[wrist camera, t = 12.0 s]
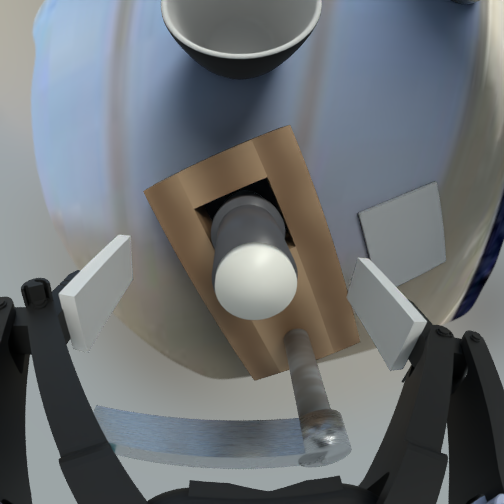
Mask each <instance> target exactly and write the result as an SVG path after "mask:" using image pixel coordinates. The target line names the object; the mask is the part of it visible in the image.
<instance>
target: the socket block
mask: <svg viewBox="0 0 504 504" xmlns="http://www.w3.org/2000/svg"><path fill="white" fill-rule="evenodd" d="M264 178H266V179H267V181H268V183H269V186H270V188H271V190H272V193H273V195H274V198H275V200H276V203H277V205H278V207H279V210H280V212H281V215H282V217H283V220H284V222H285V225H286V227H287V230H288V231H286V232H285V241H286V243H287V246H288V248H289V250H290V252H291V254H292V256H293V258H294V260H295V263H296V266H297V271H298V278H297V289H296V293H295V295H294V297H293V299H292V301H291V302H290V304H289V305H288V306H287V307H286V308H285V309H284V310H283V311H281V312H280V313H278V314H276V315H274V316H272V317H270V318H266V319H261V320H247V319H242V318H239V317H236V316H234V315H232V314H231V313H229V312H228V311H227V310H225V309H224V308H223V307H222V305H221V304H220V302H219V301H218V299H217V296H216V293H215V291H214V289H213V285H212V269H213V261H214V254H215V248H214V246H213V244H212V240H211V227H212V223H213V222H212V220H211V218H210V216H209V214H208V212H207V210H206V208H205V206H204V204H206V203H208V202H210V201H213V200H215V199H217V198H219V197H222V196H224V195H226V194H229V193H231V192H233V191H235V190H238V189H240V188H242V187H245V186H247V185H249V184H252V183H254V182H257V181H259V180H261V179H264ZM143 192H144V194H145V196H146V198H147V200H148V202H149V204H150V206H151V208H152V210H153V211H154V213H155V215H156V217H157V219H158V221H159V223H160V225H161V227H162V229H163V230H164V232H165V234H166V236H167V238H168V240H169V242H170V243H171V245H172V247H173V249H174V251H175V253H176V254H177V256H178V258H179V260H180V261H181V263H182V265H183V267H184V269H185V270H186V272H187V274H188V276H189V277H190V279H191V281H192V282H193V284H194V286H195V288H196V289H197V291H198V293H199V294H200V296H201V298H202V299H203V301H204V303H205V304H206V306H207V308H208V309H209V311H210V313H211V314H212V316H213V318H214V319H215V321H216V322H217V324H218V326H219V327H220V329H221V330H222V332H223V334H224V335H225V337H226V338H227V340H228V341H229V343H230V344H231V346H232V348H233V349H234V351H235V352H236V354H237V355H238V357H239V358H240V360H241V361H242V363H243V364H244V366H245V367H246V369H247V370H248V372H249V373H250V375H251V376H252V378H253V379H254V380H258V379H261V378H265V377H268V376H271V375H274V374H278V373H281V372H284V371H287V370H290V374H291V379H292V384H293V389H294V394H295V399H296V405H297V409H298V415H299V418H300V417H301V416H303V415H305V414H307V413H310V412H313V411H317V410H323V409H330V405H329V402H328V399H327V395H326V392H325V388H324V385H323V382H322V378H321V375H320V372H319V369H318V365H317V362H316V360H317V359H320V358H323V357H325V356H328V355H330V354H333V353H335V352H338V351H340V350H343V349H345V348H348V347H350V346H352V345H355V344H357V343H359V342H360V339H359V334H358V330H357V326H356V322H355V318H354V314H353V310H352V306H351V304H350V303H349V301H348V299H347V298H346V297H347V294H348V291H347V288H346V284H345V281H344V277H343V274H342V270H341V267H340V263H339V260H338V257H337V254H336V250H335V247H334V244H333V241H332V238H331V234H330V231H329V228H328V225H327V222H326V219H325V216H324V213H323V210H322V207H321V205H320V202H319V199H318V196H317V193H316V190H315V188H314V185H313V182H312V180H311V177H310V174H309V172H308V169H307V166H306V164H305V161H304V158H303V156H302V153H301V151H300V148H299V146H298V143H297V141H296V138H295V136H294V134H293V131H292V129H291V126H290V125H288V126H284V127H281V128H278V129H276V130H273V131H270V132H268V133H265V134H263V135H260V136H258V137H255V138H253V139H250V140H248V141H245V142H243V143H241V144H238V145H236V146H234V147H231V148H229V149H227V150H224V151H222V152H220V153H218V154H215V155H213V156H211V157H209V158H207V159H205V160H202V161H200V162H198V163H196V164H194V165H192V166H190V167H188V168H186V169H184V170H182V171H180V172H178V173H176V174H174V175H172V176H170V177H168V178H166V179H164V180H162V181H160V182H158V183H156V184H155V185H153V186H151V187H150V188H148V189H146V190H145V191H143Z"/></svg>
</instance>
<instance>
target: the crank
mask: <svg viewBox="0 0 504 504" xmlns="http://www.w3.org/2000/svg"><path fill="white" fill-rule="evenodd" d="M93 413H94V415H95V417H96V419H97V421H98V423H99V425H100V427H101V429H102V431H103V433H104V435H105V437H106V438H107V440H108V442H109V444H110V446H111V447H112V449H113V451H114V453H115V454H116V455H120V456H124V457H129V458H134V459H139V460H144V461H150V462H156V463H163V464H170V465H179V466H189V467H201V468H223V469H254V468H255V469H256V468H275V467H288V466H299V465H301V466H304V467H320V466H325V465H329V464H332V463H335V462H337V461H339V460H341V459H343V458H345V457H346V456H347V455H348V454H349V453H350V452H351V445H350V442H349V439H348V435H347V432H346V429H345V426H344V423H343V419H342V416H341V414H340V412H338V411H336V410H332V409H323V410H317V411H313V412H310V413H307V414H305V415H303V416H301V417H300V418H293V419H279V420H253V421H224V420H223V421H222V420H198V419H184V418H173V417H164V416H156V415H148V414H141V413H135V412H128V411H123V410H117V409H112V408H107V407H102V406H98V405H96V407H95V409H94V412H93Z"/></svg>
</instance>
